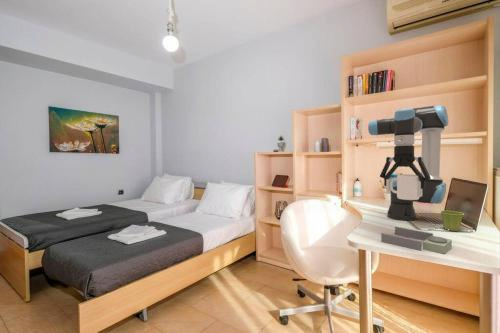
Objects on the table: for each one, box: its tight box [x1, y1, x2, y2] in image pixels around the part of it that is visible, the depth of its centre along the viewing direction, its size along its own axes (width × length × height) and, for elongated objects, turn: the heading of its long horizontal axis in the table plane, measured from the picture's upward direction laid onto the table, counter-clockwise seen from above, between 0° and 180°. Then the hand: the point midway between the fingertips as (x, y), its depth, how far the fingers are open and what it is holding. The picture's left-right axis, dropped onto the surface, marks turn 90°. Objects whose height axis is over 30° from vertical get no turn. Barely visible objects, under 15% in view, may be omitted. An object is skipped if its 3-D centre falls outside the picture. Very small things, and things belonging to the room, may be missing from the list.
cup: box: [390, 173, 420, 200], centre depth 113 cm, size 8×12×10 cm
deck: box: [380, 226, 453, 255], centre depth 110 cm, size 16×22×4 cm
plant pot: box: [439, 210, 465, 232], centre depth 128 cm, size 9×9×9 cm
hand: (403, 194), depth 113 cm, fingers closed on cup, 12 cm apart
